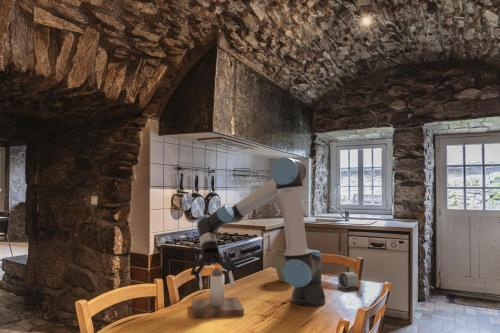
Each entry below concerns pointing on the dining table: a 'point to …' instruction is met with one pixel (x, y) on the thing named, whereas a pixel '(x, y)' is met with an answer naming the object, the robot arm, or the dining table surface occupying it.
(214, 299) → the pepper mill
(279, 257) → the plant pot
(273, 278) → the dining table surface
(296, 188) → the robot arm
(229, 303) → the walnut board
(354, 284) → the ceramic mug
